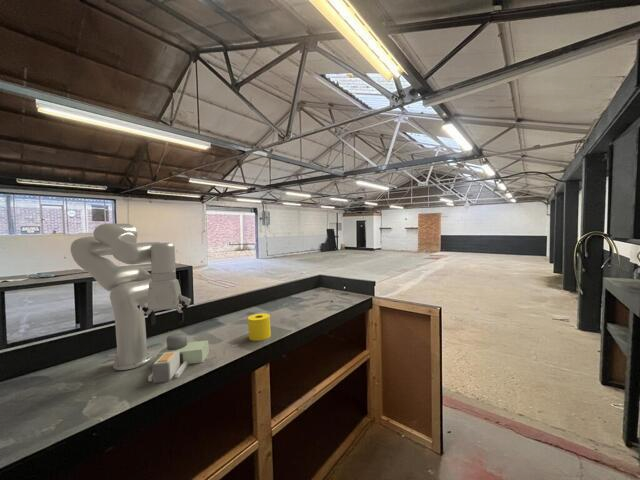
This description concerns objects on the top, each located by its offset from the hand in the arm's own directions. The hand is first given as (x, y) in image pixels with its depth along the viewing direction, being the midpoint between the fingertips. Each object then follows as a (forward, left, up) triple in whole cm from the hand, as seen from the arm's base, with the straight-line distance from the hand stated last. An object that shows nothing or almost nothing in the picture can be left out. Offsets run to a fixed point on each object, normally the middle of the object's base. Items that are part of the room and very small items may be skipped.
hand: (166, 323), depth 97 cm
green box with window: (+2, +4, -17) cm, 18 cm away
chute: (0, -3, -17) cm, 18 cm away
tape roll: (+30, +25, -18) cm, 43 cm away
